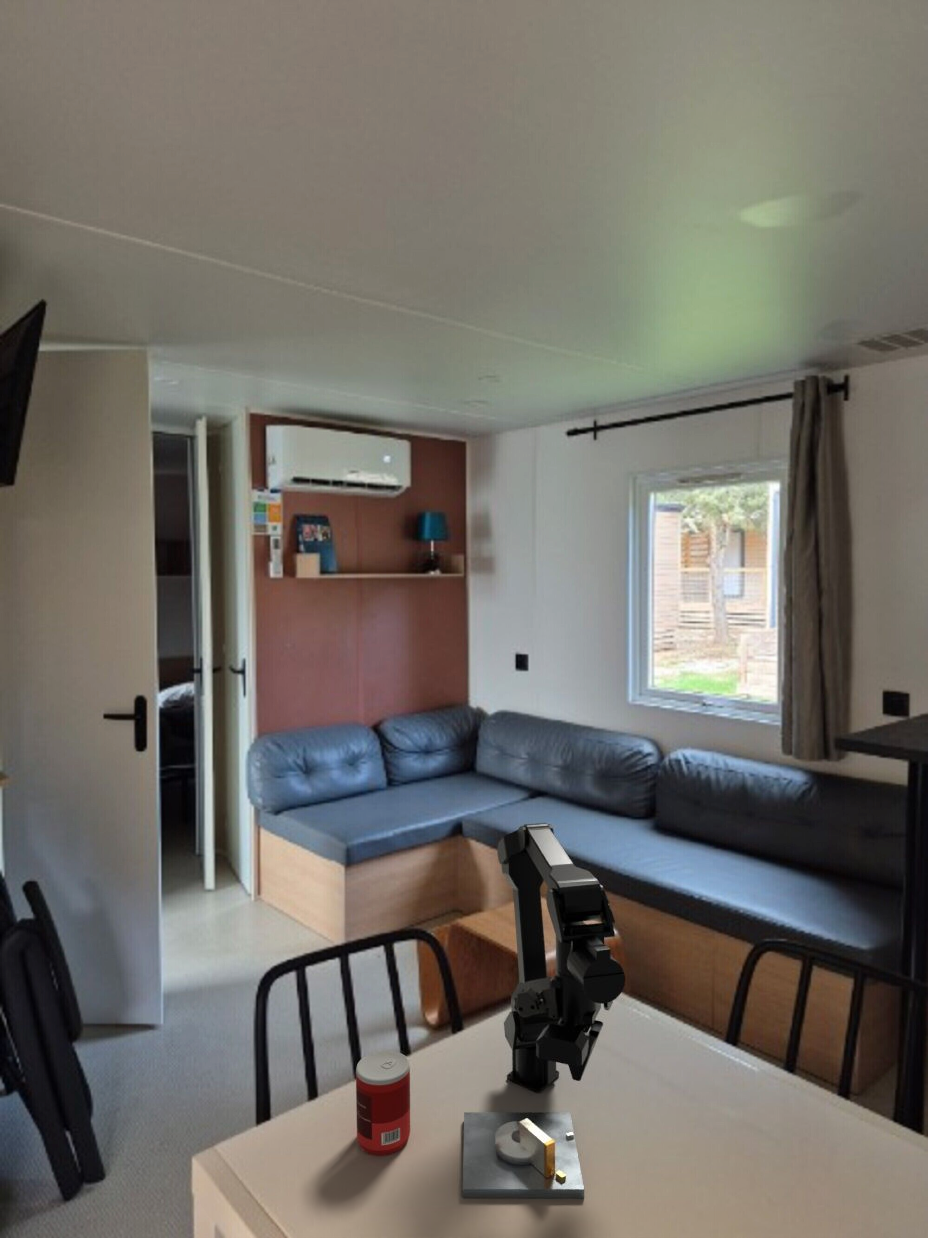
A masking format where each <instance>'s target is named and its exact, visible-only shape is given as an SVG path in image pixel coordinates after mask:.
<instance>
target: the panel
mask: <svg viewBox="0 0 928 1238" xmlns="http://www.w3.org/2000/svg"><path fill="white" fill-rule="evenodd" d="M526 1118H528V1119H529V1120H530V1121H531V1122H532V1123H533V1124H535V1125H536V1126H537V1127H539V1128H540V1129H541V1130H542V1131H543V1132H544V1133H545V1134H546V1135H547V1136H549V1137H550V1138H551V1139H552V1140H554V1141H555V1174H554V1175H552V1176H550V1177H548V1178H546V1177H545V1176H544V1175H543V1174H542V1173H541V1172H540V1171H539V1170H538V1169H537V1168H536V1167H535V1166H533V1165H532V1164H531V1163H530V1164H525V1165H518V1164H512V1163H509V1162H507V1161H505V1160H503V1159H502V1158H501V1157H500V1156H499V1155H498V1154H497V1152H496V1149H495V1134H496V1132H497V1130H498V1129H499V1128H500V1127H501V1126H502V1125H504V1124H506V1123H509V1122H514V1121H522V1120H524V1119H526ZM575 1138H576V1137H575V1131H574V1126H573V1122H572V1116H571V1112H562V1111H561V1112H558V1111H557V1112H556V1111H555V1112H551V1111H550V1112H540V1111H538V1112H537V1111H536V1112H532V1111H531V1112H526V1111H525V1112H523V1111H522V1112H520V1111H518V1112H517V1111H516V1112H513V1111H512V1112H510V1111H509V1112H507V1111H506V1112H502V1111H501V1112H496V1111H495V1112H494V1111H493V1112H490V1111H489V1112H488V1111H487V1112H485V1111H484V1112H477V1111H476V1112H473V1111H472V1112H469V1111H468V1112H464V1111H463V1150H462V1151H463V1153H462V1154H463V1155H462V1157H463V1160H462V1198H463V1199H585V1185H584V1181H583V1175H582V1171H581V1170H582V1169H581V1166H580V1165H581V1164H580V1160H579V1155H578V1148H577V1144H576V1139H575Z"/></svg>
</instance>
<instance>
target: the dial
mask: <svg viewBox="0 0 928 1238" xmlns="http://www.w3.org/2000/svg"><path fill="white" fill-rule="evenodd" d="M495 1149H496V1152H497V1154H498V1155H499V1156H500V1157H501V1158H502V1159H503V1160H505V1161H507V1162H509V1163H512V1164H518V1165H525V1164H530V1163H531V1164H532V1165H533V1166H535V1167H536V1168H537V1169H538V1170H539V1171H540V1172H541V1173H542V1174H543V1175H544V1176H545V1177H546V1178H548V1177H550V1176H552V1175H554V1174H555V1141H554V1140H552V1139H551V1138H550V1137H549V1136H547V1135H546V1134H545V1133H544V1132H543V1131H542V1130H541V1129H540V1128H539V1127H537V1126H536V1125H535V1124H533V1123H532V1122H531V1121H530V1120H529V1119H528V1118H526V1119H524V1120H522V1121H514V1122H509V1123H506V1124H504V1125H502V1126H501V1127H500V1128H499V1129H498V1130H497V1132H496V1134H495Z"/></svg>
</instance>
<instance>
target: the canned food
mask: <svg viewBox="0 0 928 1238" xmlns="http://www.w3.org/2000/svg"><path fill="white" fill-rule="evenodd" d="M410 1066H411V1065H410V1060H409V1059H408V1057H407V1056H406V1055H405V1054H403V1053H401V1052H398V1051H395V1050H381V1051H375V1052H371V1053H370V1054H367V1055H365V1056H363V1058H361V1059H360V1060H359V1061H358V1063H357V1065H356V1069H355V1090H356V1091H355V1093H356V1094H355V1095H356V1097H355V1098H356V1101H355V1102H356V1104H355V1105H356V1106H355V1107H356V1140H357V1142H358V1144H359V1147H360V1148H361V1150H362V1151H364V1152H366V1153H367V1154H370V1155H373V1156H385V1155H387V1156H388V1155H391V1154H393V1153H396V1152H398V1151H399V1150H401V1149H402V1148H404V1146H405V1145H407V1143H408V1140H409V1137H410V1134H411V1067H410Z"/></svg>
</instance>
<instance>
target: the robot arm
mask: <svg viewBox="0 0 928 1238" xmlns="http://www.w3.org/2000/svg"><path fill="white" fill-rule="evenodd" d="M496 851H497V860H498V863H499V864H500V865H501V872H502V875H503V876H504V878H505V879H506V881H507V882H508V884H509V885H510V887H511V888H512V894H513V907H514V908H513V909H514V910H513V911H514V921H515V922H514V923H515V934H516V935H515V936H516V937H515V938H516V949H517V965H518V978H519V979H518V982H517V985H516V987H515V989H514V991H513V993H512V995H511V999H510V1005H511V1007H510V1008H511V1009H510V1010H511V1011H509V1013H508V1015H507V1016H506V1017H505V1020H504V1021H503V1028H504V1037H505V1039H506V1042H507V1043H508V1045H509V1047H510V1049H511V1054H512V1056H511V1062H512V1063H511V1064H512V1065H511V1067H512V1068H511V1069H512V1070H511V1071H510V1072H509V1073H508V1074H506V1079H507V1080H508V1081H510V1082H513V1083H515V1084H518V1085H519V1086H522V1087H524V1088H527V1089H529V1090H531V1091H534V1092H535V1093H541V1092H542V1091H544V1089H546V1087H548V1086H549V1085H550V1084H551V1083H552V1082H553V1081H555V1080H556V1079H557V1078H558V1077H559V1076H560V1071H559V1070H557V1063H559V1064H563V1065H567V1066H568V1068H569V1072H570V1074H571V1075H570V1076H571V1079H572V1080H573V1081H577V1082H580V1081H581V1080H582V1079H583V1075H584V1073H585V1070H586V1067H587V1066H588V1063H589V1060H590V1059H591V1055H592V1053H593V1051H594V1048H595V1046H596V1043H597V1041H598V1038H599V1036H600V1033H601V1031H602V1030H603V1027H604V1022H603V1021H601V1020H596V1019H597V1016H598V1015H599V1012H600V1011H601V1009H602V1004H603V1009H604V1011H610V1010H611V1007H612V1006H613V1003H614V1002H613V1001H615V1000H616V999H617V998H619V996H620V995H621V994H622V992H623V991H624V987H625V986H626V975H625V971H624V968H623V967H622V966H621V964H620V963H619V962H618V961H617V960H616V959H615V958H614V957H613V955H611V954H612V953H611V948H609V946H607V944H605V939H608V938H615V936H616V932H615V928H614V925H615V924H616V920H615V917H614V914H613V911H612V907H611V904H610V901H609V899H608V895H607V893H606V891H605V888H604V886H603V885H602V884H601V883H600V882H599V880H598V879H597V878H596V877H595V876H594V875H593V874H592V873H591V872H590V871H589V870H587V869H583V868H581V867H578V866H576V865H575V864H574V862H573V861H572V860H571V858H570V857H569V855H568V854H567V851H565V849H564V848H563V847H562V844H561V843H560V841H559V840H558V839H557V838H556V836H555V832H554V828H553V825H552V824H550V823H547V822H538V823H525V824H523V825H521V826H519V827H518V828H517V830H514V831H512V832H510V833H507V834H505V835H503V836H502V837H501V839H500V840H499V842H498V844H497V849H496ZM543 883H545V885H546V887H547V891H546V894H545V895H546V896H545V899H546V908H547V910H548V915H549V918H550V922H551V924H552V929H553V930H554V933H555V975H553V977H552V976H551V977H550V976H549V977H548V971H547V958H546V957H547V955H546V944H545V934H544V933H545V931H544V920H543V919H544V918H543V907H542V895H541V894H542V893H541V892H542V891H541V888H542V885H544V884H543ZM599 919H600V921H601V922H597V923H596V922H595V923H588V924H587V923H586V922H588V921H598V920H599Z"/></svg>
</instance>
